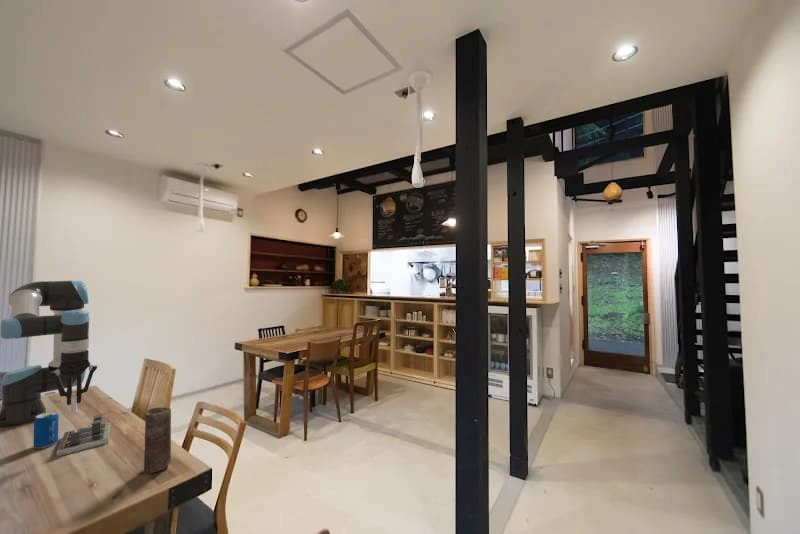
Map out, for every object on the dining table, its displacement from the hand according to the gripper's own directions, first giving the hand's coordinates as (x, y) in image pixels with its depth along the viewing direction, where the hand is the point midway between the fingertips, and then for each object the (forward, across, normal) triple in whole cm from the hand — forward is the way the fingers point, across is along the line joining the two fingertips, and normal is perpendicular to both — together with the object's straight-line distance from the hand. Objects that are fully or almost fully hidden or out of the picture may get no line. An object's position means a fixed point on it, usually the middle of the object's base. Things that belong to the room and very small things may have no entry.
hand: (74, 412), depth 122 cm
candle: (+14, +23, -37) cm, 46 cm away
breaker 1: (+12, +6, +12) cm, 18 cm away
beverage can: (+14, -8, +11) cm, 20 cm away
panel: (+14, +3, +6) cm, 16 cm away
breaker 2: (+12, +6, +6) cm, 14 cm away
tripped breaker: (+12, +1, 0) cm, 12 cm away
